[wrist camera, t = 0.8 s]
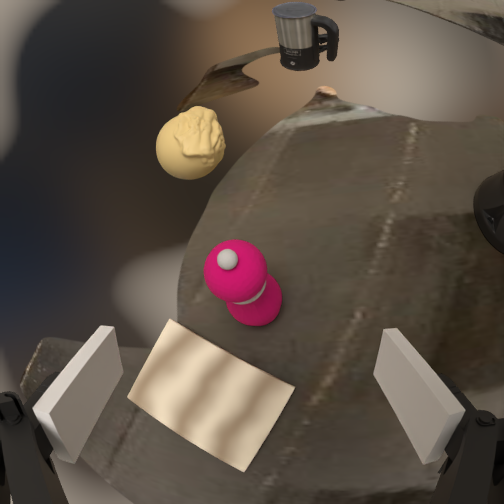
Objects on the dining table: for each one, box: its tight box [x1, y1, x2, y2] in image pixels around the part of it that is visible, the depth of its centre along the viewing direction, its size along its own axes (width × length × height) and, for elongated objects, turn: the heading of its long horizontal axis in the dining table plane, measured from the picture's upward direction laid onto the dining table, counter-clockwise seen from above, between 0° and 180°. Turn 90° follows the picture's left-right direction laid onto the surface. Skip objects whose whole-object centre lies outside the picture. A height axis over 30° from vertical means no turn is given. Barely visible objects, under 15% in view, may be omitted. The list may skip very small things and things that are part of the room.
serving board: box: [128, 319, 295, 472], centre depth 40 cm, size 20×14×2 cm
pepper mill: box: [204, 240, 282, 326], centre depth 35 cm, size 7×7×20 cm
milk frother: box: [272, 2, 339, 71], centre depth 57 cm, size 14×16×15 cm
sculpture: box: [156, 106, 226, 180], centre depth 51 cm, size 12×12×11 cm
